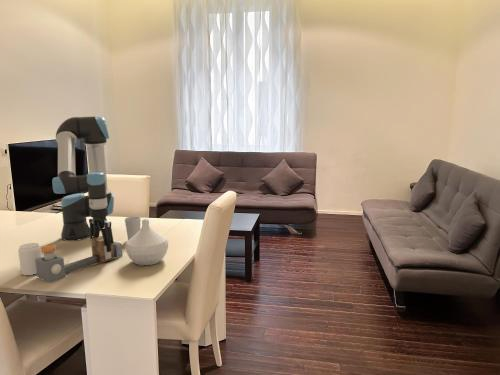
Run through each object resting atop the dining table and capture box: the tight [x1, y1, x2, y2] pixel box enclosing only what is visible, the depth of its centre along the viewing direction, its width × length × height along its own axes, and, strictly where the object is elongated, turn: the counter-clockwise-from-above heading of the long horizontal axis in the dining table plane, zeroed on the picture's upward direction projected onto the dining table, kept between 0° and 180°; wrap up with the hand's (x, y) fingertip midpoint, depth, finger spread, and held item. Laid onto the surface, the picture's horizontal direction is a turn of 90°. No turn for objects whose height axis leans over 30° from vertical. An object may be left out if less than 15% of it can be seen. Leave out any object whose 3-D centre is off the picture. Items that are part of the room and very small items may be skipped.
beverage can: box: [18, 242, 42, 276], centre depth 172 cm, size 8×8×12 cm
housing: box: [35, 254, 66, 283], centre depth 167 cm, size 9×7×8 cm
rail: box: [64, 241, 123, 275], centre depth 181 cm, size 5×29×6 cm, turn 143°
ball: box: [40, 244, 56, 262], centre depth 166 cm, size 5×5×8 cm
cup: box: [124, 216, 141, 241], centre depth 215 cm, size 8×8×12 cm
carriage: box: [90, 235, 115, 264], centre depth 186 cm, size 7×6×10 cm
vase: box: [124, 218, 169, 266], centre depth 182 cm, size 18×18×19 cm
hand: (103, 256), depth 186 cm, fingers closed on carriage, 7 cm apart
